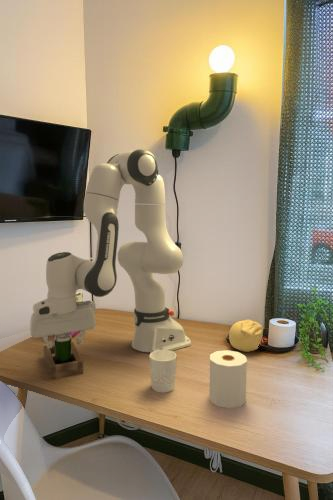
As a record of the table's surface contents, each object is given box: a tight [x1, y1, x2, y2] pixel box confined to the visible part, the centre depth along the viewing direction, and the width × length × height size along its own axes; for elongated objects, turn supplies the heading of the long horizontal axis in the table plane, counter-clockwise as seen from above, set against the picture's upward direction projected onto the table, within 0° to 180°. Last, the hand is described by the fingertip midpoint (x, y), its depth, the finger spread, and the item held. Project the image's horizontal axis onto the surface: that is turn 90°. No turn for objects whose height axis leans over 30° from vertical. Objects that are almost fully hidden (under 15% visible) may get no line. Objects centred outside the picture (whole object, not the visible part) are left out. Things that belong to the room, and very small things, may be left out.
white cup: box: [148, 350, 177, 394], centre depth 113 cm, size 8×8×10 cm
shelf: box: [43, 341, 84, 381], centre depth 128 cm, size 10×18×4 cm, turn 24°
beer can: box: [53, 333, 73, 365], centre depth 123 cm, size 5×5×12 cm
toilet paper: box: [208, 349, 248, 409], centre depth 107 cm, size 10×10×12 cm
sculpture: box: [228, 319, 264, 353], centre depth 141 cm, size 12×12×11 cm
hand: (64, 345), depth 123 cm, fingers open, 8 cm apart
